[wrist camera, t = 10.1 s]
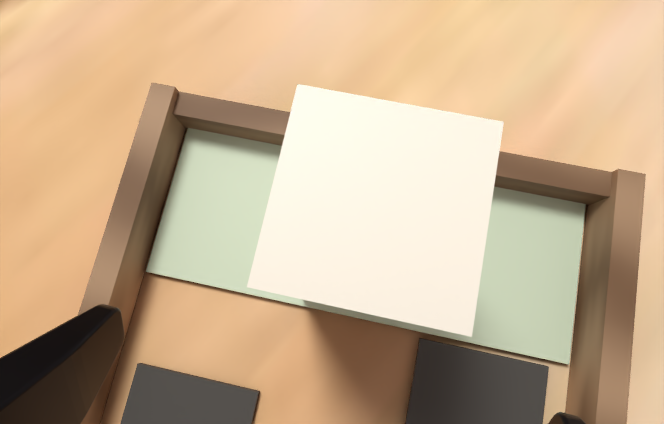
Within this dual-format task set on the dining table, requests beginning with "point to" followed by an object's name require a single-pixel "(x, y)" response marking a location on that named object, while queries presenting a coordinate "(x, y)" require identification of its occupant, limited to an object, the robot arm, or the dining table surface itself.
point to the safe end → (233, 274)
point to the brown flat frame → (432, 357)
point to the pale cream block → (380, 209)
